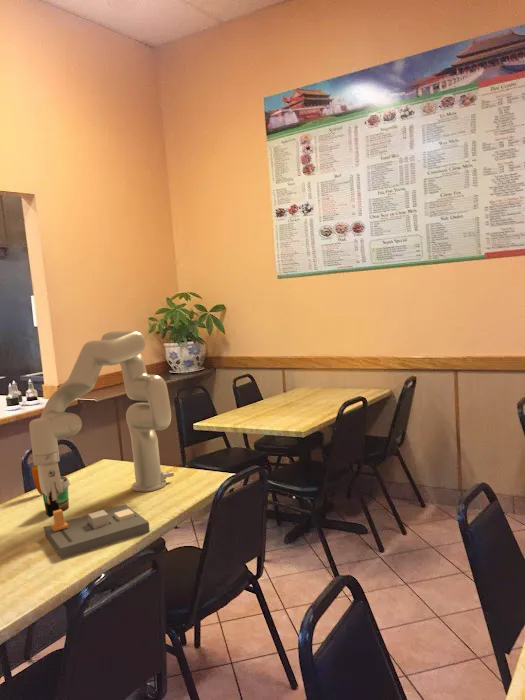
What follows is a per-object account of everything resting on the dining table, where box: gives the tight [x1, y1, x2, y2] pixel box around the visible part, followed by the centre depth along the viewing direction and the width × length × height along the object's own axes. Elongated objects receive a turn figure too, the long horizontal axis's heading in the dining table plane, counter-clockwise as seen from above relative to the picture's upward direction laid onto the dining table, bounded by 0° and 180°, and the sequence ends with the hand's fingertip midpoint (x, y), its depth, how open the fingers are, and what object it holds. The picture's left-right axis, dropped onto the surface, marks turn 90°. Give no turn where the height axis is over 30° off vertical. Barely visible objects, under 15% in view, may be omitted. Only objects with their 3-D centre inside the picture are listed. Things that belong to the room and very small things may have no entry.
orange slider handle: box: [50, 509, 69, 531], centre depth 177 cm, size 4×4×5 cm
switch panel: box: [43, 504, 150, 560], centre depth 179 cm, size 26×20×3 cm
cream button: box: [114, 509, 135, 522], centre depth 183 cm, size 5×5×4 cm
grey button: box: [87, 509, 109, 529], centre depth 179 cm, size 5×5×4 cm
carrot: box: [31, 465, 43, 496], centre depth 219 cm, size 5×5×15 cm
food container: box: [40, 475, 71, 516], centre depth 202 cm, size 12×6×10 cm, turn 168°
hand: (53, 514), depth 183 cm, fingers closed
